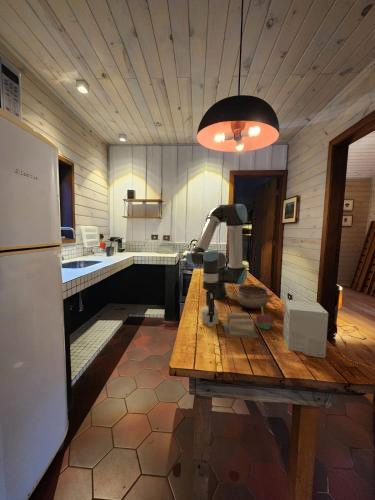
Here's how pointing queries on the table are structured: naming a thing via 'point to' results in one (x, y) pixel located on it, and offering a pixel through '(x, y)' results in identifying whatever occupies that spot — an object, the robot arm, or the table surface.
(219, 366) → the table surface
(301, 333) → the supplement box
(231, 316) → the maple base block
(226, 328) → the slate board
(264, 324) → the cupcake
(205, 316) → the cream block
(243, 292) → the cooking pot
